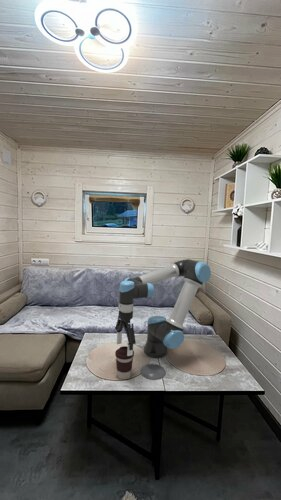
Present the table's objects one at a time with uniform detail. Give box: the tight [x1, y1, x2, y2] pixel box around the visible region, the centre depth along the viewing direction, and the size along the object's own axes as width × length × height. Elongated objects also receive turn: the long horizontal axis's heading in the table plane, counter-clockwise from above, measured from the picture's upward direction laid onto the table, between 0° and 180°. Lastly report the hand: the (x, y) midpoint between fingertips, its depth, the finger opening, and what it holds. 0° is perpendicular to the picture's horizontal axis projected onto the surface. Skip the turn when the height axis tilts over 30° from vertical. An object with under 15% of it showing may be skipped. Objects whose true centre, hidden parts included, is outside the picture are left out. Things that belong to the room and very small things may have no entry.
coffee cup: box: [114, 345, 135, 380], centre depth 134 cm, size 10×10×15 cm
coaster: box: [140, 363, 167, 381], centre depth 139 cm, size 14×14×1 cm
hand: (124, 349), depth 133 cm, fingers open, 13 cm apart
